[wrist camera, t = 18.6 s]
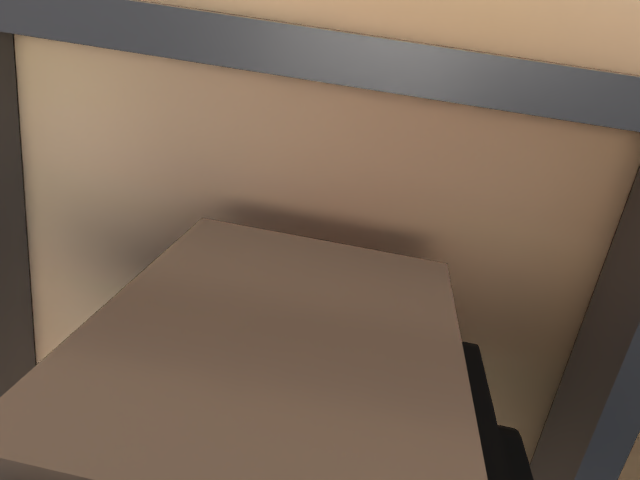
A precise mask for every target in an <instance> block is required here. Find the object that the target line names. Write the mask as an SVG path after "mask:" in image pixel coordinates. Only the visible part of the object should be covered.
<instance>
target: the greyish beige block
mask: <svg viewBox="0 0 640 480" xmlns="http://www.w3.org/2000/svg"><path fill="white" fill-rule="evenodd" d="M0 480H488V479H487V473H486V468H485V463H484V457H483V452H482V447H481V441H480V436H479V431H478V425H477V420H476V415H475V409H474V404H473V399H472V393H471V388H470V383H469V377H468V372H467V367H466V361H465V356H464V351H463V345H462V340H461V335H460V329H459V324H458V319H457V313H456V308H455V302H454V297H453V292H452V286H451V281H450V276H449V270H448V265H447V263H442V262H437V261H431V260H426V259H421V258H415V257H410V256H405V255H399V254H394V253H388V252H383V251H378V250H372V249H367V248H362V247H356V246H351V245H346V244H340V243H335V242H329V241H324V240H319V239H313V238H308V237H303V236H297V235H292V234H286V233H281V232H276V231H270V230H265V229H260V228H254V227H249V226H244V225H238V224H233V223H227V222H222V221H217V220H211V219H206V218H202V219H201V220H199V221H198V222H197V223H196V224H195V225H194V226H193V227H192V228H190V229H189V230H188V231H187V232H186V233H185V234H184V235H183V236H181V237H180V238H179V239H178V240H177V241H176V242H175V243H173V244H172V245H171V246H170V247H169V248H168V249H167V250H166V251H164V252H163V253H162V254H161V255H160V256H159V257H158V258H157V259H155V260H154V261H153V262H152V263H151V264H150V265H149V266H148V267H146V268H145V269H144V270H143V271H142V272H141V273H140V274H139V275H137V276H136V277H135V278H134V279H133V280H132V281H131V282H130V283H128V284H127V285H126V286H125V287H124V288H123V289H122V290H121V291H119V292H118V293H117V294H116V295H115V296H114V297H113V298H112V299H110V300H109V301H108V302H107V303H106V304H105V305H104V306H103V307H101V308H100V309H99V310H98V311H97V312H96V313H95V314H94V315H92V316H91V317H90V318H89V319H88V320H87V321H86V322H85V323H83V324H82V325H81V326H80V327H79V328H78V329H77V330H75V331H74V332H73V333H72V334H71V335H70V336H69V337H68V338H66V339H65V340H64V341H63V342H62V343H61V344H60V345H59V346H57V347H56V348H55V349H54V350H53V351H52V352H51V353H50V354H48V355H47V356H46V357H45V358H44V359H43V360H42V361H41V362H39V363H38V364H37V365H36V366H35V367H34V368H33V369H32V370H30V371H29V372H28V373H27V374H26V375H25V376H24V377H23V378H21V379H20V380H19V381H18V382H17V383H16V384H15V385H14V386H12V387H11V388H10V389H9V390H8V391H7V392H6V393H5V394H3V395H2V396H1V397H0Z"/></svg>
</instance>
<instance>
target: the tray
mask: <svg viewBox="0 0 640 480" xmlns="http://www.w3.org/2000/svg"><path fill="white" fill-rule="evenodd" d="M13 34H19V35H25V36H31V37H38V38H44V39H50V40H57V41H63V42H70V43H76V44H82V45H89V46H95V47H101V48H108V49H114V50H120V51H127V52H133V53H140V54H146V55H152V56H159V57H165V58H171V59H178V60H184V61H191V62H197V63H203V64H210V65H216V66H222V67H229V68H235V69H241V70H248V71H254V72H261V73H267V74H273V75H280V76H286V77H292V78H299V79H305V80H311V81H318V82H324V83H331V84H337V85H343V86H350V87H356V88H362V89H369V90H375V91H382V92H388V93H394V94H401V95H407V96H413V97H420V98H426V99H432V100H439V101H445V102H452V103H458V104H464V105H471V106H477V107H483V108H490V109H496V110H502V111H509V112H515V113H522V114H528V115H534V116H541V117H547V118H553V119H560V120H566V121H573V122H579V123H585V124H592V125H598V126H604V127H611V128H617V129H623V130H630V131H636V132H640V76H639V75H632V74H625V73H619V72H612V71H605V70H599V69H592V68H585V67H579V66H572V65H565V64H559V63H552V62H546V61H539V60H532V59H526V58H519V57H512V56H506V55H499V54H492V53H486V52H479V51H472V50H466V49H459V48H453V47H446V46H439V45H433V44H426V43H419V42H413V41H406V40H399V39H393V38H386V37H379V36H373V35H366V34H360V33H353V32H346V31H340V30H333V29H326V28H320V27H313V26H306V25H300V24H293V23H287V22H280V21H273V20H267V19H260V18H253V17H247V16H240V15H233V14H227V13H220V12H213V11H207V10H200V9H194V8H187V7H180V6H174V5H167V4H160V3H154V2H147V1H140V0H0V397H1V396H2V395H3V394H5V393H6V392H7V391H8V390H9V389H10V388H11V387H12V386H14V385H15V384H16V383H17V382H18V381H19V380H20V379H21V378H23V377H24V376H25V375H26V374H27V373H28V372H29V371H30V370H32V369H33V368H34V367H35V366H36V363H35V349H34V335H33V320H32V306H31V291H30V277H29V262H28V248H27V233H26V219H25V205H24V190H23V176H22V161H21V147H20V132H19V118H18V103H17V89H16V75H15V60H14V46H13ZM639 431H640V168H639V171H638V173H637V176H636V179H635V182H634V184H633V187H632V190H631V192H630V195H629V198H628V201H627V203H626V206H625V209H624V211H623V214H622V217H621V220H620V222H619V225H618V228H617V230H616V233H615V236H614V239H613V241H612V244H611V247H610V249H609V252H608V255H607V258H606V260H605V263H604V266H603V268H602V271H601V274H600V277H599V279H598V282H597V285H596V287H595V290H594V293H593V296H592V298H591V301H590V304H589V306H588V309H587V312H586V314H585V317H584V320H583V323H582V325H581V328H580V331H579V333H578V336H577V339H576V342H575V344H574V347H573V350H572V352H571V355H570V358H569V361H568V363H567V366H566V369H565V371H564V374H563V377H562V380H561V382H560V385H559V388H558V390H557V393H556V396H555V399H554V401H553V404H552V407H551V409H550V412H549V415H548V418H547V420H546V423H545V426H544V428H543V431H542V434H541V437H540V439H539V442H538V445H537V447H536V450H535V453H534V456H533V458H532V461H531V464H530V469H531V472H532V476H533V479H534V480H618V478H619V475H620V473H621V471H622V469H623V467H624V464H625V462H626V460H627V458H628V456H629V453H630V451H631V449H632V447H633V445H634V442H635V440H636V438H637V436H638V434H639Z"/></svg>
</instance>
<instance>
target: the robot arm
mask: <svg viewBox="0 0 640 480" xmlns="http://www.w3.org/2000/svg"><path fill="white" fill-rule="evenodd" d="M462 345H463V351H464V356H465V361H466V367H467V372H468V377H469V383H470V388H471V393H472V399H473V404H474V409H475V415H476V420H477V425H478V431H479V436H480V441H481V447H482V452H483V457H484V463H485V468H486V473H487V479H488V480H534V479H533V476H532V472H531V469H530V465H529V462H528V459H527V455H526V452H525V448H524V445H523V441H522V438H521V436H520V433H519V431H517V430H516V429H515V428H510V427H505V426H500V425H497V421H496V417H495V412H494V408H493V404H492V400H491V396H490V391H489V387H488V383H487V379H486V375H485V370H484V366H483V362H482V358H481V354H480V349H479V346H478V345H477V344H472V343H467V342H462Z"/></svg>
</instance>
